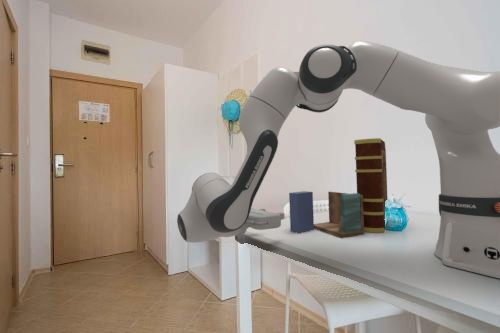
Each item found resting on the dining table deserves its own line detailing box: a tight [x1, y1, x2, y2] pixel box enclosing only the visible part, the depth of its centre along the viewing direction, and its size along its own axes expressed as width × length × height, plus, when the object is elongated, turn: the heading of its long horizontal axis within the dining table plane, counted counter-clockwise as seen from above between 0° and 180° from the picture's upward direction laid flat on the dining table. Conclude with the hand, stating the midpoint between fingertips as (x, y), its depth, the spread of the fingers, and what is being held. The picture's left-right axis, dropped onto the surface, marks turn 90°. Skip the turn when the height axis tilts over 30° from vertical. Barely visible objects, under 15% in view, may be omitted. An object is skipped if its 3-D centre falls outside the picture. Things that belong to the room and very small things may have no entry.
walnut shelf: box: [314, 191, 365, 239], centre depth 87 cm, size 15×9×13 cm, turn 23°
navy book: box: [288, 190, 315, 234], centre depth 88 cm, size 4×7×13 cm, turn 123°
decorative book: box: [353, 137, 388, 234], centre depth 92 cm, size 22×8×30 cm, turn 148°
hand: (273, 213), depth 82 cm, fingers open, 8 cm apart
